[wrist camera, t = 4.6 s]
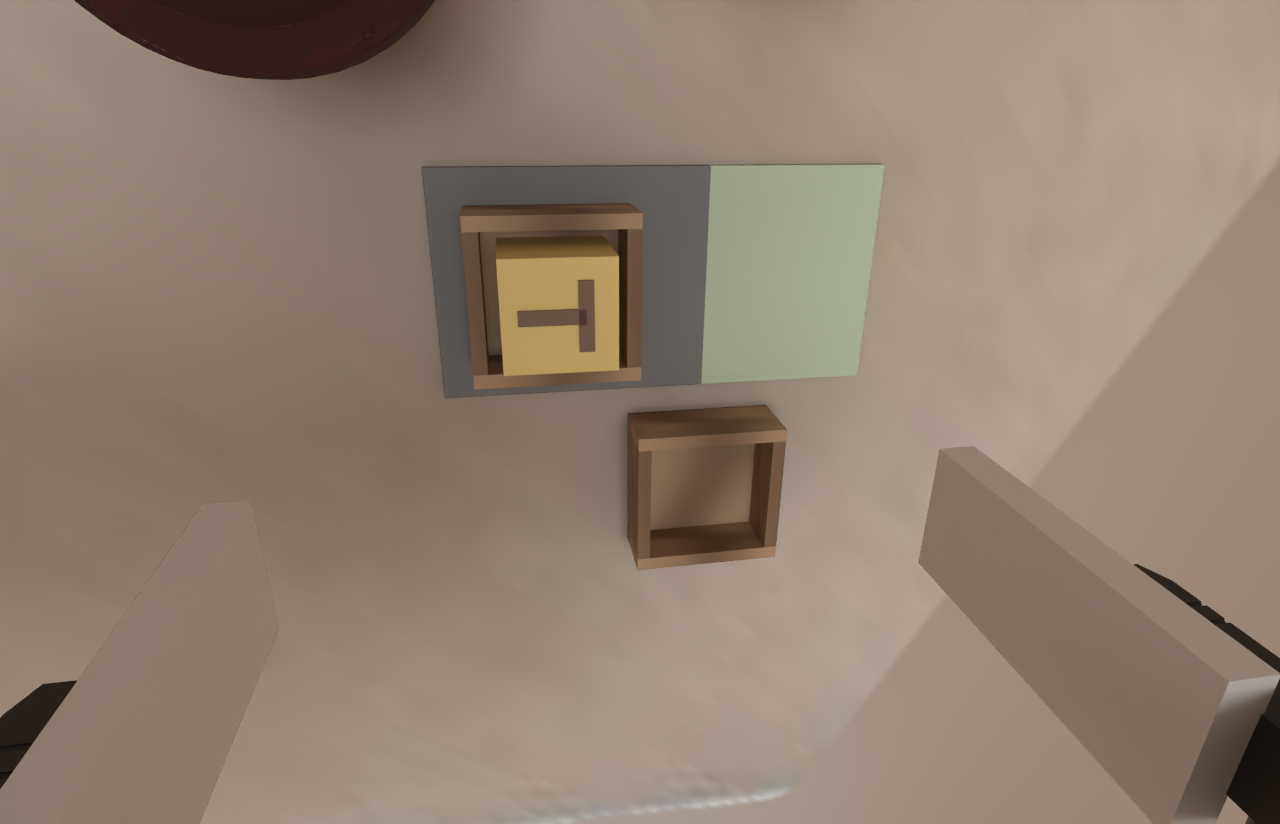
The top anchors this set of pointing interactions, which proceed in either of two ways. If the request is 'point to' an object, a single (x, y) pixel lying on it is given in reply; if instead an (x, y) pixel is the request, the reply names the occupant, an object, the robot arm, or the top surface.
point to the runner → (694, 264)
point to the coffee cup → (262, 32)
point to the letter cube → (558, 304)
